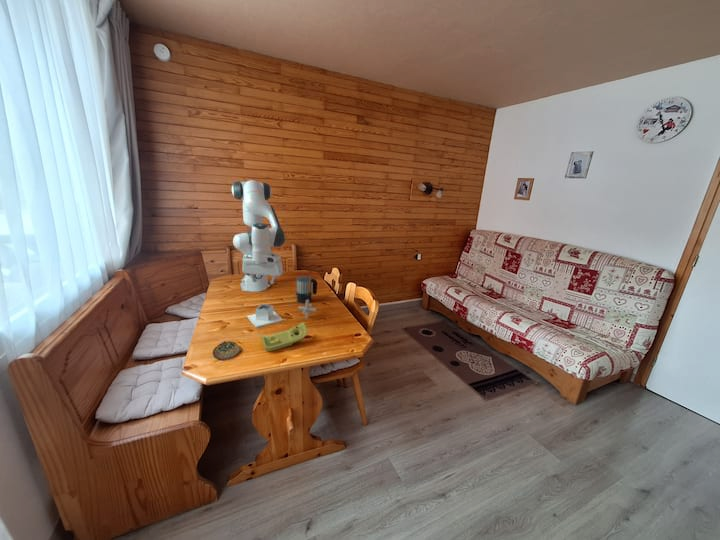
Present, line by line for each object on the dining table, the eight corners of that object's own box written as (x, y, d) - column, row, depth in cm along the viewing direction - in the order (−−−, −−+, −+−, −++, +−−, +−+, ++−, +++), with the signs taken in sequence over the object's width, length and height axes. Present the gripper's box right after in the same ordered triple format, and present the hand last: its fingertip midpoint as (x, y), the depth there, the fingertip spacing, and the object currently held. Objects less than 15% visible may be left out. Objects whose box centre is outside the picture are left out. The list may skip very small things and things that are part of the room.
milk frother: (304, 304, 169) (304, 281, 164) (285, 298, 176) (285, 276, 172) (319, 297, 181) (319, 276, 176) (300, 292, 188) (300, 271, 184)
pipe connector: (312, 322, 147) (312, 305, 144) (295, 319, 149) (294, 302, 146) (319, 314, 156) (319, 298, 154) (302, 312, 158) (302, 296, 155)
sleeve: (256, 319, 145) (255, 309, 143) (261, 314, 151) (261, 304, 149) (268, 320, 144) (267, 310, 142) (273, 315, 150) (273, 305, 149)
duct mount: (247, 317, 149) (246, 307, 147) (272, 311, 157) (272, 301, 156) (256, 327, 138) (255, 317, 137) (282, 320, 147) (282, 310, 145)
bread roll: (214, 346, 121) (215, 336, 119) (242, 346, 124) (243, 337, 123) (209, 362, 111) (210, 351, 109) (239, 362, 114) (240, 351, 113)
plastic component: (265, 349, 117) (260, 330, 123) (265, 358, 122) (260, 340, 128) (309, 336, 126) (302, 319, 132) (308, 345, 131) (301, 328, 137)
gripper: (238, 256, 136) (240, 282, 140) (278, 259, 134) (279, 286, 138) (245, 253, 142) (247, 278, 146) (283, 256, 140) (284, 282, 144)
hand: (263, 282), depth 142 cm, fingers open, 8 cm apart
